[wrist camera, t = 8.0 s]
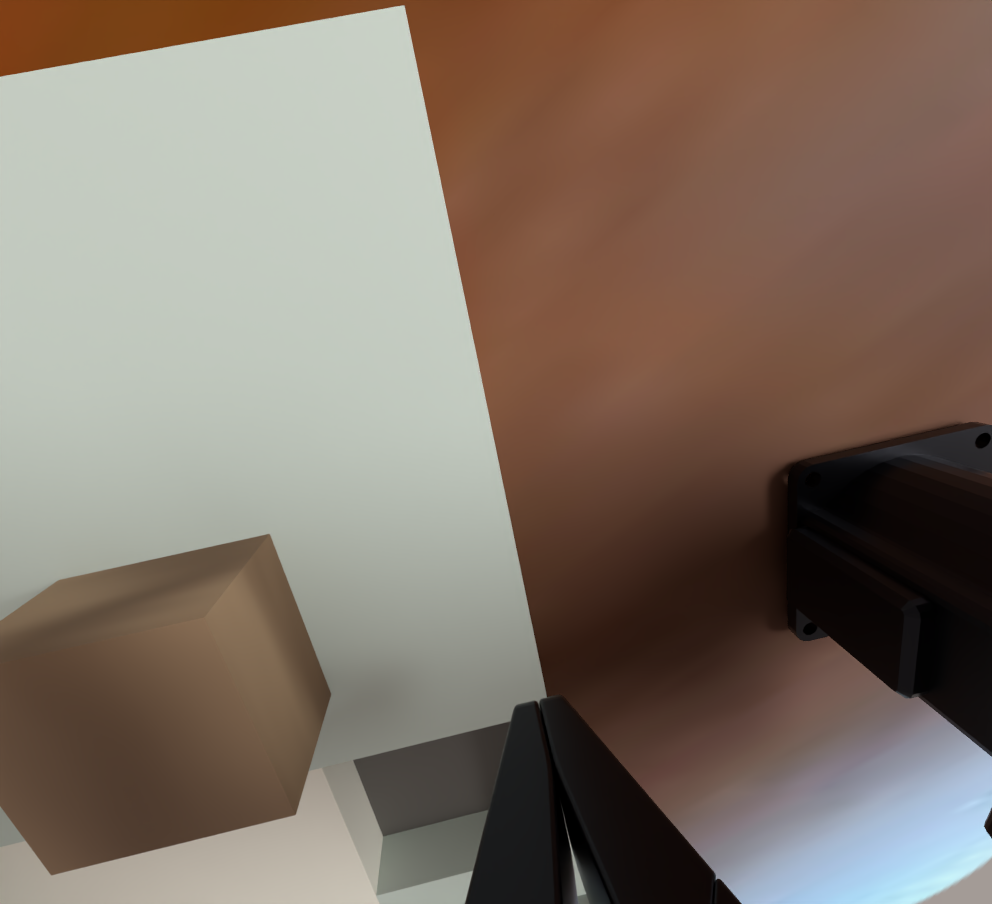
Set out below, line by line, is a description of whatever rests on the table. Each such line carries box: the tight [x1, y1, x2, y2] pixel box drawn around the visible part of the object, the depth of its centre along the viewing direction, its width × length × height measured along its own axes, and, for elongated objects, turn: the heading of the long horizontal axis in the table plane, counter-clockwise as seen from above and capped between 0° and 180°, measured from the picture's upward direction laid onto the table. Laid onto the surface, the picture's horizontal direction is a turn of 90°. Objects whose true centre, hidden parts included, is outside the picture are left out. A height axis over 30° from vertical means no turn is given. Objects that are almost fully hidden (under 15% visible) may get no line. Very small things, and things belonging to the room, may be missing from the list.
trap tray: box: [0, 5, 589, 904], centre depth 12 cm, size 18×26×4 cm
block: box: [0, 534, 331, 875], centre depth 10 cm, size 5×5×3 cm
